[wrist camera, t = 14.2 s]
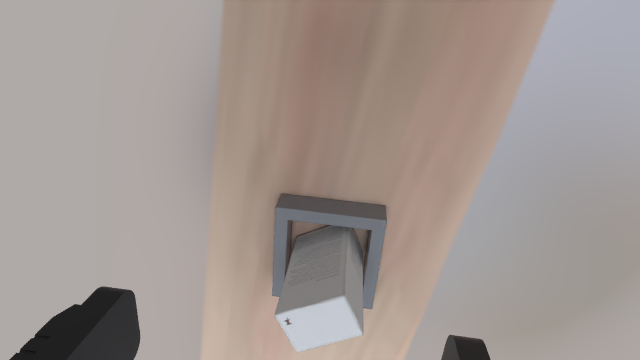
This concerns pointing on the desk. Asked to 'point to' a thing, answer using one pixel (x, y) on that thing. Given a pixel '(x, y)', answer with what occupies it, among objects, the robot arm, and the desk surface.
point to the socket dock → (333, 215)
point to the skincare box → (323, 289)
